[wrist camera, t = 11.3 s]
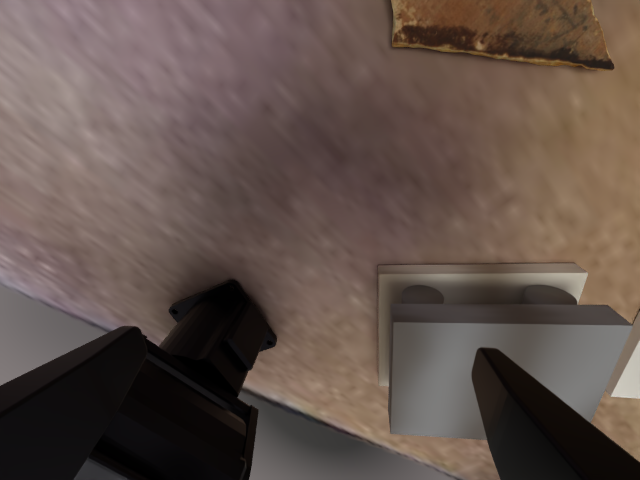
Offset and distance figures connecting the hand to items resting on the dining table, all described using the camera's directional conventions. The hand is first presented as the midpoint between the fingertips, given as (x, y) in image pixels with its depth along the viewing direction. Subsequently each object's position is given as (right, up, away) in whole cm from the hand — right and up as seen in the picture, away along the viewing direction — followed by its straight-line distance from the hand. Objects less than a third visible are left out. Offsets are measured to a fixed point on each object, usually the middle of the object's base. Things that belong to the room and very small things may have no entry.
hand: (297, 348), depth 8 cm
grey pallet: (+11, -3, +13) cm, 17 cm away
